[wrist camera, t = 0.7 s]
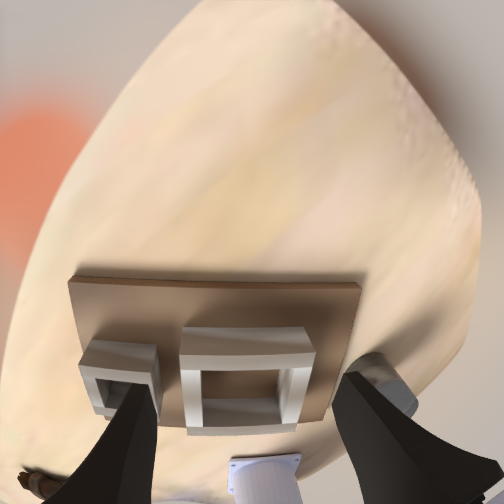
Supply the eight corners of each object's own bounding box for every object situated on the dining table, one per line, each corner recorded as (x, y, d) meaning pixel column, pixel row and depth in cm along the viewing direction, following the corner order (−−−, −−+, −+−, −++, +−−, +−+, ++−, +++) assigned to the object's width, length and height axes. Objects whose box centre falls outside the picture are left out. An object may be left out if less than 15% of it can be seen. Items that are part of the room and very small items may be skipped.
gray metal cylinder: (378, 385, 26) (405, 427, 20) (338, 391, 25) (362, 439, 19) (392, 349, 24) (426, 392, 18) (350, 355, 23) (380, 403, 18)
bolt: (26, 461, 29) (97, 477, 29) (36, 484, 28) (108, 502, 28) (7, 473, 23) (81, 495, 24) (19, 498, 22) (93, 521, 23)
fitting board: (319, 413, 26) (331, 443, 22) (107, 412, 23) (99, 444, 19) (355, 282, 21) (381, 309, 17) (73, 275, 18) (48, 303, 14)
